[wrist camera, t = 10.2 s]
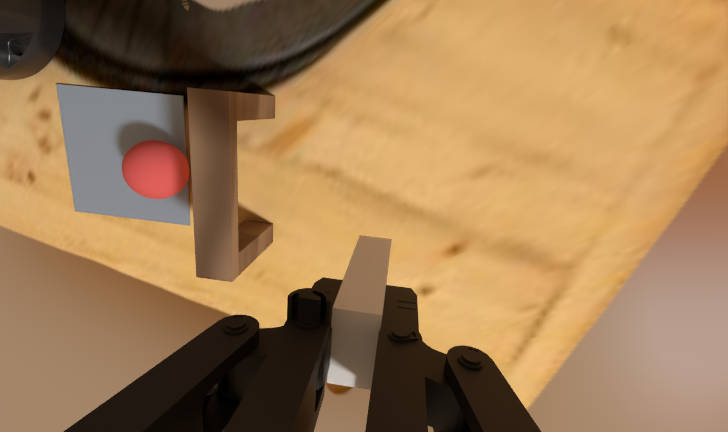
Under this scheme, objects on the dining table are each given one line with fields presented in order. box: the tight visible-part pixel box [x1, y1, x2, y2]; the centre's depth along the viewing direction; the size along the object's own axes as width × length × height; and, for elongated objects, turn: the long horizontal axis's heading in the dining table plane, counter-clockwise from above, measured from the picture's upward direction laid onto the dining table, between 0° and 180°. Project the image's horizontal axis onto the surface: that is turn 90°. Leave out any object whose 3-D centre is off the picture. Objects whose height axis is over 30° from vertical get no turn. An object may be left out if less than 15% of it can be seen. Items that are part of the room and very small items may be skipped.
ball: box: [122, 140, 189, 199], centre depth 34 cm, size 6×6×6 cm
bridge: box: [187, 88, 275, 282], centre depth 31 cm, size 3×14×9 cm, turn 175°
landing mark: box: [56, 84, 190, 225], centre depth 37 cm, size 13×13×1 cm
